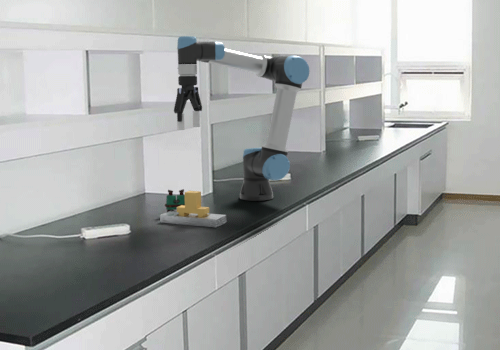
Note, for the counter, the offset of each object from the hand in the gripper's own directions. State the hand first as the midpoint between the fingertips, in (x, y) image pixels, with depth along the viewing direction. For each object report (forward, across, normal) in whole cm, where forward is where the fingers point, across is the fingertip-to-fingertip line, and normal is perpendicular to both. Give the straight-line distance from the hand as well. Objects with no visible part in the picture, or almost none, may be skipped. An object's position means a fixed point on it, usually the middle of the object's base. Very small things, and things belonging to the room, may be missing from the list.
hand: (188, 128), depth 290 cm
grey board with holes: (+35, +17, +10) cm, 40 cm away
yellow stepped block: (+35, +17, +10) cm, 40 cm away
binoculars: (+35, +5, -4) cm, 35 cm away
